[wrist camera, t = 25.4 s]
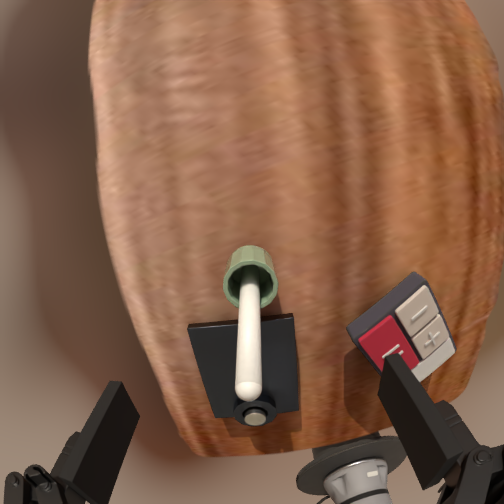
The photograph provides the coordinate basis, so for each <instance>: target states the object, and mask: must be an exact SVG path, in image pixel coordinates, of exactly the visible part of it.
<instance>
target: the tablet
mask: <svg viewBox="0 0 504 504" xmlns="http://www.w3.org/2000/svg"><path fill="white" fill-rule="evenodd" d="M260 323H261V364H262V392H261V394H260V396H259V397H258V398H257V399H255V400H252V401H245V400H242V399H241V398H239V397H238V396H237V394H236V391H235V379H236V358H237V338H238V320H228V321H218V322H207V323H194V324H189V325H188V328H187V330H188V334H189V337H190V341H191V344H192V348H193V351H194V355H195V358H196V361H197V365H198V368H199V371H200V374H201V377H202V381H203V384H204V387H205V390H206V393H207V396H208V399H209V402H210V405H211V407H212V410H213V413H214V416H215V418H227V417H235V419H236V420H237V421H238V422H240V423H241V424H244V425H248V426H263V425H265V424H267V423H270V422H272V421H273V420H274V418H275V417H276V416H277V413H285V412H292V411H299V401H298V379H297V359H296V342H295V327H294V316H293V313H288V314H280V315H273V316H265V317H260ZM256 406H257V407H261V408H263V409H264V410H265V412H266V421H265V422H264V423H263V424H261V425H249V424H247V423H246V422H245V419H244V418H245V410H246V409H247V408H249V407H256Z"/></svg>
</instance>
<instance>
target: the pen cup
mask: <svg viewBox="0 0 504 504" xmlns="http://www.w3.org/2000/svg"><path fill="white" fill-rule="evenodd" d="M252 264H253V265H256V266H257V267H258V269H259V286H260V309H262V308H263V307H265V306H267V305H269V304H270V303H271V302H272V300H273V299H274V297H275V296H276V295H277V289H278V279H277V275H276V271H275V267H274V264H273V261H272V258H271V256H270V255H269V254H268V253H267V252H266V251H265V250H264V249H262V248H260V247H258V246H253V245H248V246H243V247H241V248H239V249H237V250H236V251H234V252H233V253H232V255H231V256H230V258H229V260H228V262H227V266H226V271H225V275H224V282H223V291H224V293H225V295H226V297H227V300H228V301H229V302H231V303H232V304H233V305H234V306H235V307H237V308H239V300H240V281H241V269H242V267H243V266H244V265H252Z"/></svg>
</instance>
